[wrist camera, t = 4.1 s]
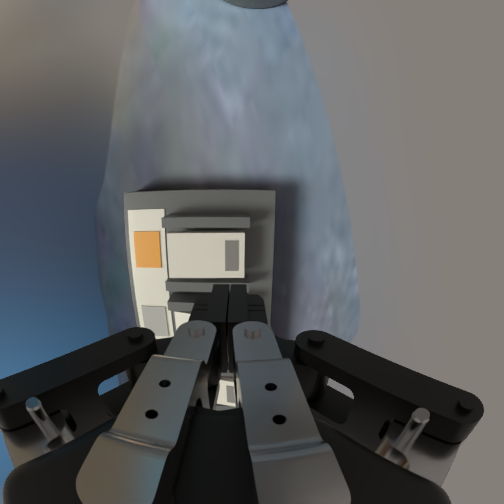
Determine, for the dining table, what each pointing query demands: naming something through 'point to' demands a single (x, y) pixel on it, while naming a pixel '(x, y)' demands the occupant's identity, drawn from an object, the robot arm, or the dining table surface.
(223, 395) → the switch
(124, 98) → the dining table surface
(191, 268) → the switch
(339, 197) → the dining table surface
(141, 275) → the switch unit
